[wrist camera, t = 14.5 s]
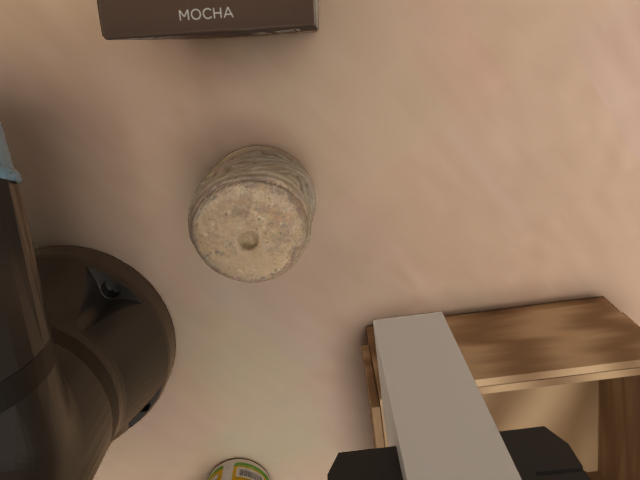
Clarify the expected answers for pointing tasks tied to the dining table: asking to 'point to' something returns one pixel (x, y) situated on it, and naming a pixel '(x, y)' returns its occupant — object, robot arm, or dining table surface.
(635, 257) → the dining table surface
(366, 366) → the wooden open box
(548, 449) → the robot arm
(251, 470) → the supplement bottle
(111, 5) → the coffee box
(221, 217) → the carving
